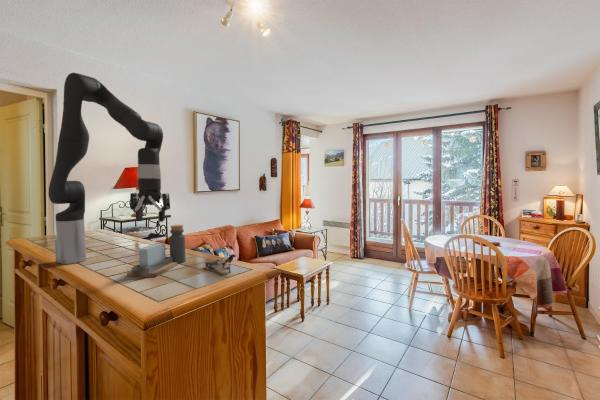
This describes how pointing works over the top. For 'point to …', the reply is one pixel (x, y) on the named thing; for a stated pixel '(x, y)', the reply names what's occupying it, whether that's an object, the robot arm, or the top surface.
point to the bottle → (177, 244)
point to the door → (151, 254)
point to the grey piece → (153, 268)
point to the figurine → (222, 262)
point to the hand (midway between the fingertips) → (150, 221)
